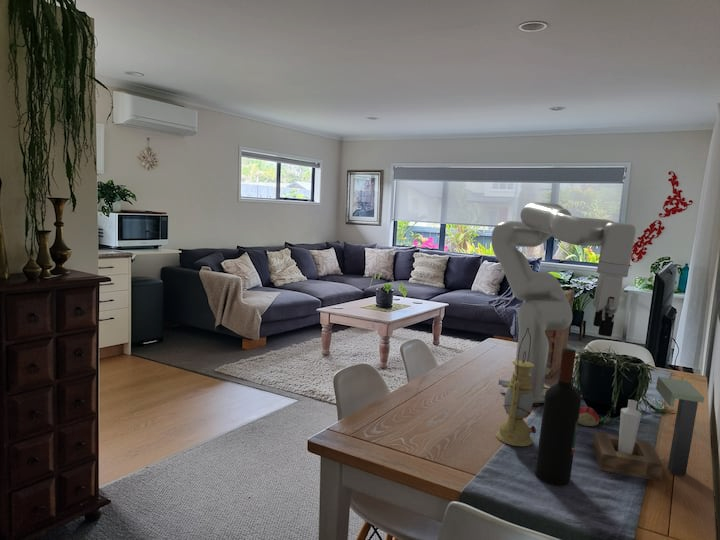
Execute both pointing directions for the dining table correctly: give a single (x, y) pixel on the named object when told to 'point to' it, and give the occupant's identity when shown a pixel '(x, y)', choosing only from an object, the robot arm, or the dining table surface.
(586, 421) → the red and yellow dome
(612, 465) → the socket block
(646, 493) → the dining table surface
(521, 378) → the lantern
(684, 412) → the capped grey post
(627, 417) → the perfume bottle
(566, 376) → the wine bottle
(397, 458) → the dining table surface
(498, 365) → the dining table surface
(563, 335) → the book
